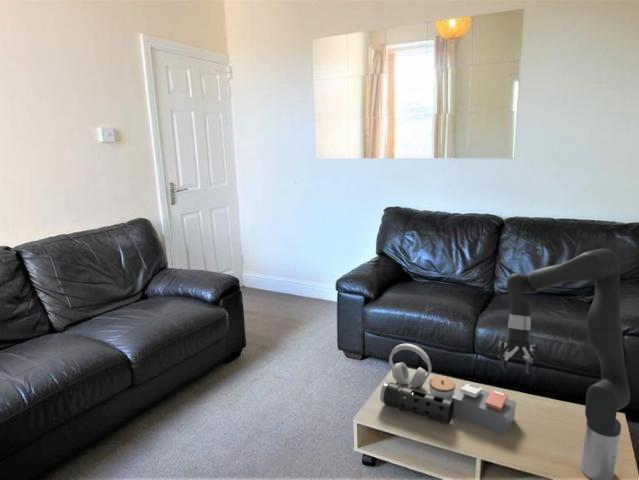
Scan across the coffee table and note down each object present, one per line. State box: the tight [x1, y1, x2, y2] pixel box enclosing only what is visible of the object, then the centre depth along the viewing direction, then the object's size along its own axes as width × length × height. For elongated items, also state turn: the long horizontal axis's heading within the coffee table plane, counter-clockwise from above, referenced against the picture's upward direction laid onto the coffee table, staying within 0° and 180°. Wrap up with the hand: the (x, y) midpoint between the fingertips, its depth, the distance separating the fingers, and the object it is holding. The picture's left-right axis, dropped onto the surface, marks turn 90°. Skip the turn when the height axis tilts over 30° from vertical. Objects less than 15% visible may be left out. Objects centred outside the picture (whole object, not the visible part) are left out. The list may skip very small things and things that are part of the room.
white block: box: [460, 383, 483, 398], centre depth 175 cm, size 6×8×2 cm
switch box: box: [451, 383, 517, 437], centre depth 173 cm, size 21×12×9 cm, turn 51°
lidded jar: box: [428, 375, 457, 400], centre depth 186 cm, size 11×11×9 cm
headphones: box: [388, 342, 432, 390], centre depth 195 cm, size 19×8×20 cm, turn 60°
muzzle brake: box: [379, 382, 454, 425], centre depth 177 cm, size 10×28×10 cm, turn 59°
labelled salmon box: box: [485, 388, 509, 411], centre depth 169 cm, size 6×8×2 cm
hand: (516, 372), depth 161 cm, fingers open, 8 cm apart
